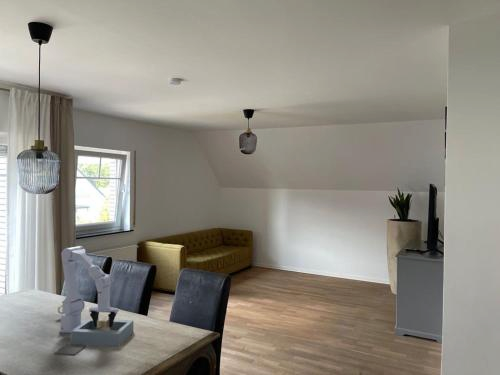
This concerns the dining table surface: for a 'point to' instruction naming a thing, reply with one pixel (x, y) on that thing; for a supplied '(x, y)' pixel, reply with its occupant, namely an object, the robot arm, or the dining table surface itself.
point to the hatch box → (102, 333)
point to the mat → (70, 349)
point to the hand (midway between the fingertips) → (103, 326)
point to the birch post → (103, 324)
